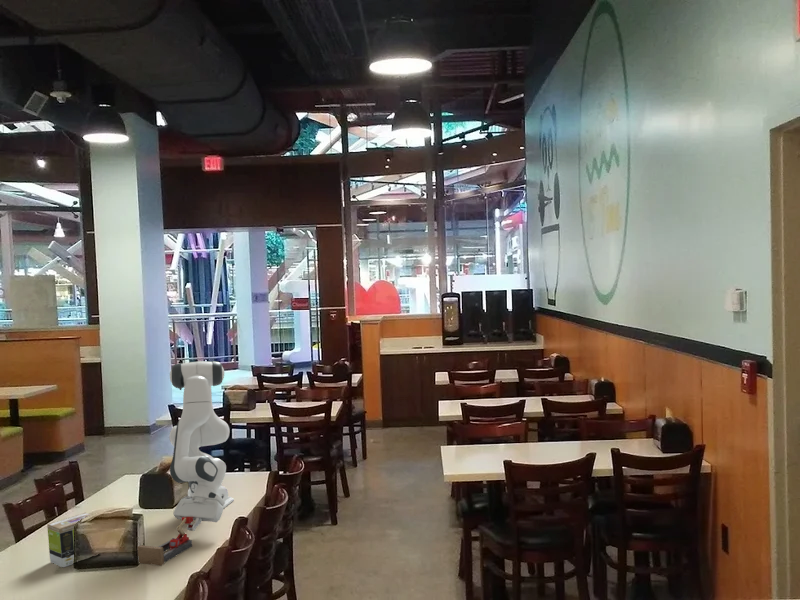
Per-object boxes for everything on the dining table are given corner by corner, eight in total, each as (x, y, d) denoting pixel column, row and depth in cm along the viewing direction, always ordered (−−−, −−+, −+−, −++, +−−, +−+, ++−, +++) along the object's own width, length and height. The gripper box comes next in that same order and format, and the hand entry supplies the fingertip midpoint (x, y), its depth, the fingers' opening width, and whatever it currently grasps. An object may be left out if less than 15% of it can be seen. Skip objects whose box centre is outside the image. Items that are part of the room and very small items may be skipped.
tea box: (88, 549, 276) (86, 511, 275) (102, 555, 269) (99, 516, 269) (49, 562, 264) (46, 523, 264) (62, 568, 258) (59, 527, 257)
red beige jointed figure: (168, 552, 268) (167, 527, 268) (186, 539, 282) (185, 515, 281) (177, 553, 268) (175, 527, 267) (194, 539, 281) (193, 515, 281)
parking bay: (172, 544, 277) (171, 529, 277) (193, 546, 273) (193, 531, 273) (138, 563, 259) (137, 546, 259) (161, 565, 256) (160, 549, 256)
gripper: (178, 492, 290) (164, 524, 281) (221, 495, 283) (208, 528, 274) (186, 499, 294) (172, 531, 285) (228, 502, 287) (215, 535, 278)
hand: (190, 529), depth 279 cm, fingers closed
